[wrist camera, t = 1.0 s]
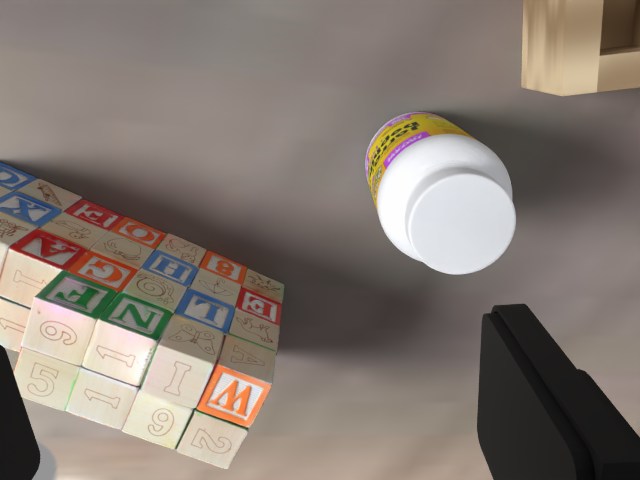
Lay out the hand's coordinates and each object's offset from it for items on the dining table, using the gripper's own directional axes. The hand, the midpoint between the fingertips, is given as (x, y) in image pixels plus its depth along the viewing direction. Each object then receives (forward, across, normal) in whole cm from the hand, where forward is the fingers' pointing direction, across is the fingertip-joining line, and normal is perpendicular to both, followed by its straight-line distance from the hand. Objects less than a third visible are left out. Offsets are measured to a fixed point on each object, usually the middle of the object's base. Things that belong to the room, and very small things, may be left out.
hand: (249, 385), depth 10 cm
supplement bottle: (+26, -8, +2) cm, 27 cm away
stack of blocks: (+26, +12, +8) cm, 30 cm away
